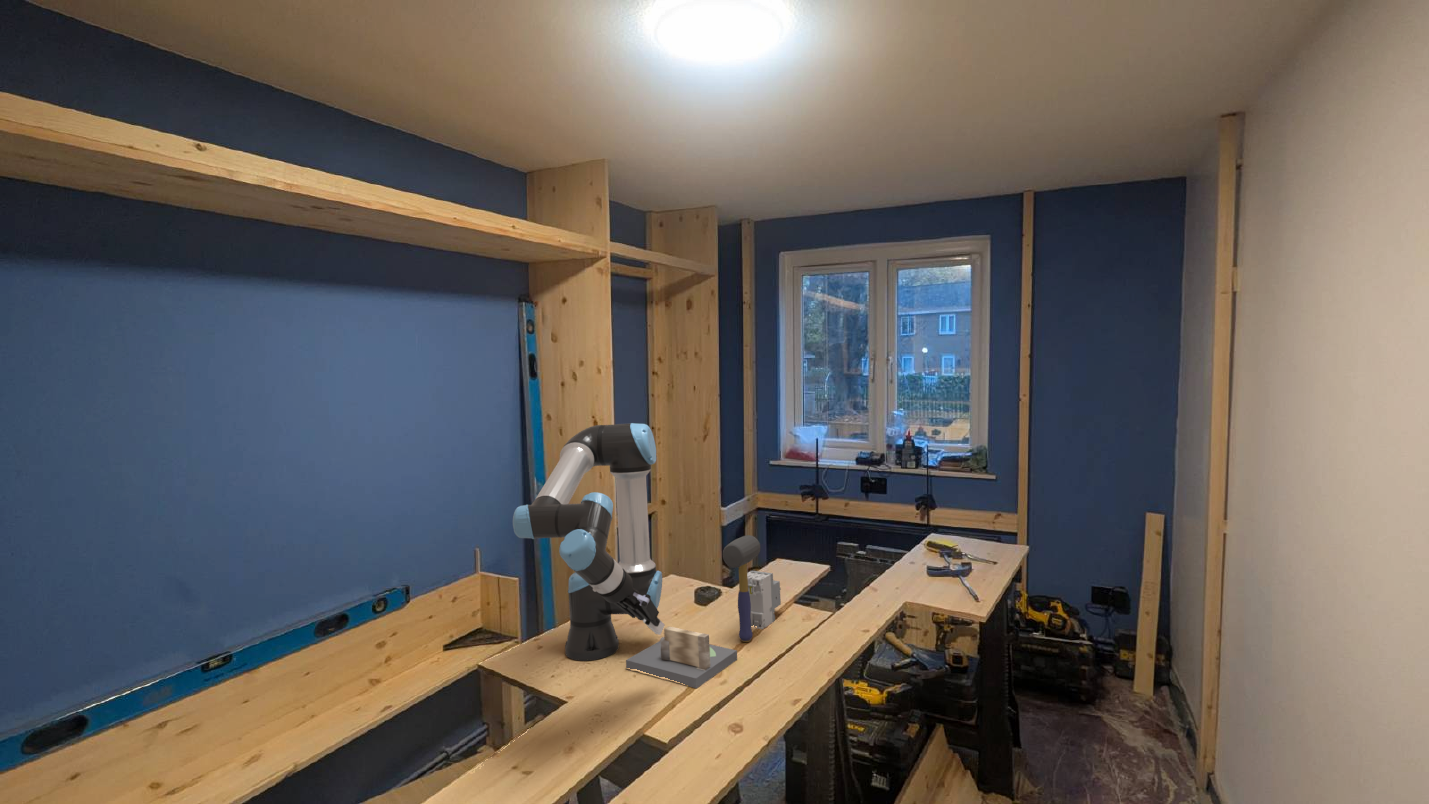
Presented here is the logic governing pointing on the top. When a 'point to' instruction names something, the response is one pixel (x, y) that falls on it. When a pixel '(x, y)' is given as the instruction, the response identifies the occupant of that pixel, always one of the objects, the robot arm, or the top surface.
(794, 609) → the top surface
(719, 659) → the board
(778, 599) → the circuit breaker
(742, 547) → the rubber mallet
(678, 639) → the wooden block
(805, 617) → the top surface
